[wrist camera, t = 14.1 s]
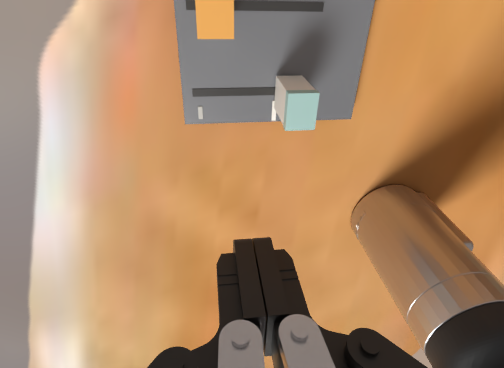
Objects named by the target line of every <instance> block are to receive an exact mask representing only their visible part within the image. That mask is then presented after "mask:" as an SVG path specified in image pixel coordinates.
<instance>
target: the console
mask: <svg viewBox="0 0 504 368" xmlns="http://www.w3.org/2000/svg"><path fill="white" fill-rule="evenodd" d="M374 2H375V0H234V39H197V23H196V7H195V0H174V8H175V18H176V29H177V40H178V51H179V62H180V73H181V84H182V95H183V106H184V117H185V124H205V123H238V122H270V121H281V120H280V118H279V116H278V114H277V112H276V111H275V109H274V101H275V85H276V76H295V75H302V76H303V77H304V78H305V79H306V80H307V81H308V82H309V83H310V84H311V86H312V87H313V88H314V89H315V90H317V91H318V92H319V93H320V95H319V102H318V109H317V116H316V120H336V119H351V117H352V112H353V107H354V102H355V97H356V92H357V87H358V82H359V77H360V72H361V67H362V62H363V57H364V52H365V47H366V42H367V37H368V32H369V27H370V22H371V17H372V12H373V7H374Z"/></svg>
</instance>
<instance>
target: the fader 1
mask: <svg viewBox="0 0 504 368" xmlns="http://www.w3.org/2000/svg"><path fill="white" fill-rule="evenodd" d="M195 7H196V23H197V39H234V0H195Z"/></svg>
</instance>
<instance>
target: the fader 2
mask: <svg viewBox="0 0 504 368" xmlns="http://www.w3.org/2000/svg"><path fill="white" fill-rule="evenodd" d="M319 95H320V93H319V92H318V91H317V90H315V89H314V88H313V87H312V86H311V84H310V83H309V82H308V81H307V80H306V79H305V78H304V77H303V76H302V75H295V76H276V85H275V101H274V109H275V111H276V112H277V114H278V116H279V118H280V120H281V122H282V124H283V127H284V129H285V131H293V130H315V124H316V116H317V109H318V102H319Z"/></svg>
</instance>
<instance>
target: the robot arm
mask: <svg viewBox="0 0 504 368" xmlns="http://www.w3.org/2000/svg"><path fill="white" fill-rule="evenodd" d="M351 226H352V229H353V231H354V233H355V234H356V237H357V238H358V240H359V241H360V243H361V245H362V246H363V248H364V250H365V252H366V254H367V255H368V257H369V259H370V260H371V262H372V264H373V266H374V267H375V269H376V271H377V272H378V274H379V276H380V278H381V279H382V281H383V283H384V284H385V286H386V288H387V290H388V291H389V293H390V295H391V296H392V298H393V300H394V302H395V303H396V305H397V307H398V308H399V310H400V312H401V314H402V315H403V317H404V319H405V321H406V322H407V324H408V325H409V327H410V329H411V331H412V332H413V334H414V336H415V337H416V339H417V341H418V343H419V344H420V346H421V348H422V350H423V351H424V353H425V354H426V356H427V358H428V360H429V362H430V363H431V365H432V367H433V368H504V285H503V284H502V283H501V282H500V281H499V280H498V279H497V278H496V277H495V276H494V275H493V274H492V273H491V272H490V270H489V269H488V268H487V267H486V266H485V265H484V264H483V263H482V262H481V261H480V260H479V259H478V258H477V257H476V256H475V255H474V254H473V253H472V252H471V251H472V249H473V247H474V246H473V243H472V241H471V240H470V239H469V238H468V237H467V236H466V235H465V234H464V233H463V232H462V231H461V230H460V229H459V228H458V227H457V226H456V225H455V224H454V223H453V222H452V221H451V220H450V219H449V218H448V217H447V216H446V215H445V214H444V213H443V212H442V211H441V210H440V209H439V208H438V207H437V206H436V205H435V204H434V203H433V202H432V201H431V200H430V199H429V198H428V197H427V196H426V195H425V194H424V193H417V192H415V191H414V190H412V189H411V188H409V187H407V186H404V185H388V186H384V187H381V188H379V189H376V190H374V191H372V192H371V193H369V194H368V195H366V196H365V197H364V198H363V199H362V200H361V201H360V202H359V203H358V204H357V206H356V207H355V209H354V211H353V213H352V216H351ZM217 285H218V304H219V323H220V325H219V329H218V331H217V333H216V335H215V336H214V338H213V339H212V340H211V341H209V342H208V343H207V344H205V345H203V346H201V347H199V348H196V349H194V350H192V351H190V350H189V349H187V348H184V347H171V348H168V349H166V350H164V351H163V352H161V353H160V354H159V355H158V356H157V357H156V358H155V359H154V360H153V362H152V363H151V364H150V365H149V366H148V367H147V368H265V366H264V356H272V360H273V365H274V368H427V367H426V366H424V365H423V364H422V363H420V362H419V361H417V360H416V359H415V358H413V357H412V356H410V355H409V354H408V353H406V352H405V351H403V350H402V349H401V348H399V347H398V346H396V345H395V344H393V343H392V342H391V341H389V340H388V339H386V338H385V337H384V336H382V335H381V334H379V333H378V332H376V331H374V330H371V329H368V328H358V329H355V330H353V331H352V332H351V333H350V334H349V335H345V334H341V333H336V332H332V331H328V330H326V329H324V328H322V327H320V326H319V325H318V324H317V323H316V322H315V321H314V320H313V319H312V317H311V316H310V314H309V311H308V308H307V304H306V301H305V298H304V295H303V292H302V288H301V285H300V282H299V280H298V276H297V272H296V270H295V266H294V263H293V260H292V258H291V256H290V255H289V254H288V253H287V252H286V251H285V250H284V249H281V250H274V248H273V244H272V240H271V238H270V237H266V238H253V239H238V240H233V253H227V254H221V256H220V258H219V260H218V262H217ZM263 350H264V354H263Z"/></svg>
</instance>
